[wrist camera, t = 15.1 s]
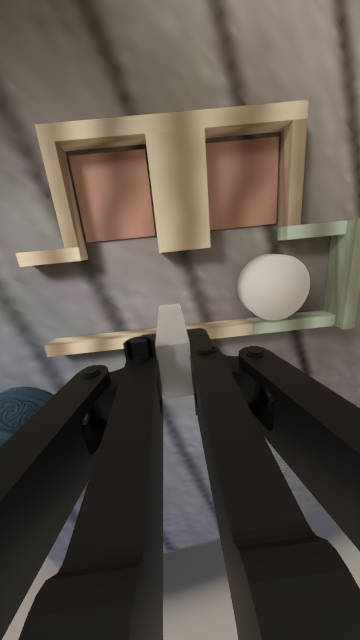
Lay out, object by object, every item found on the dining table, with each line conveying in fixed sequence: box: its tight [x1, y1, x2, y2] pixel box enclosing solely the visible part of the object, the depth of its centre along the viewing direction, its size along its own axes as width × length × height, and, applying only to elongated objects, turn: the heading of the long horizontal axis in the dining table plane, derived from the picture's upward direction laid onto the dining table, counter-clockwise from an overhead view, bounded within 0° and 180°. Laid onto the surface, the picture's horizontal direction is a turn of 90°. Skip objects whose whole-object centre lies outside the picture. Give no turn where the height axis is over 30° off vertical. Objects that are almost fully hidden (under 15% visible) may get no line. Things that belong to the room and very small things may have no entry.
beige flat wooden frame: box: [16, 100, 360, 357], centre depth 26 cm, size 40×24×4 cm, turn 96°
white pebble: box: [237, 254, 310, 320], centre depth 29 cm, size 8×8×4 cm
